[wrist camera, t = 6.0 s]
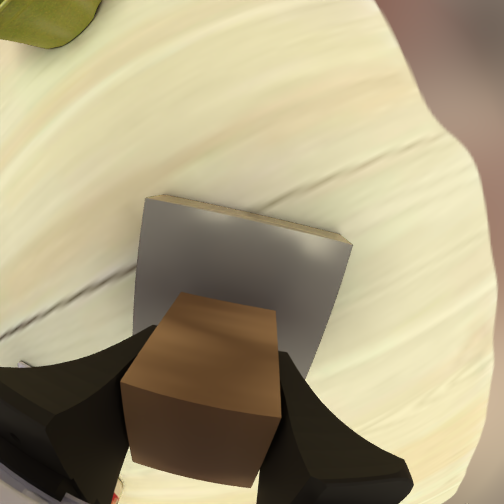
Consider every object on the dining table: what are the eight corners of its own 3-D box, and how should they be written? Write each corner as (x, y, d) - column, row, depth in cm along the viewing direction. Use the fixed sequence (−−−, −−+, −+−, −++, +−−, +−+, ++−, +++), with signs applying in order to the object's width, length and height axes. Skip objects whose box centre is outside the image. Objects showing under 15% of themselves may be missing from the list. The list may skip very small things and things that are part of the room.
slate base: (148, 341, 18) (132, 365, 16) (166, 193, 16) (145, 197, 13) (291, 374, 19) (294, 404, 16) (338, 232, 16) (352, 244, 13)
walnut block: (175, 365, 13) (132, 461, 7) (181, 291, 12) (120, 381, 6) (257, 382, 13) (251, 487, 7) (275, 310, 12) (281, 417, 6)
